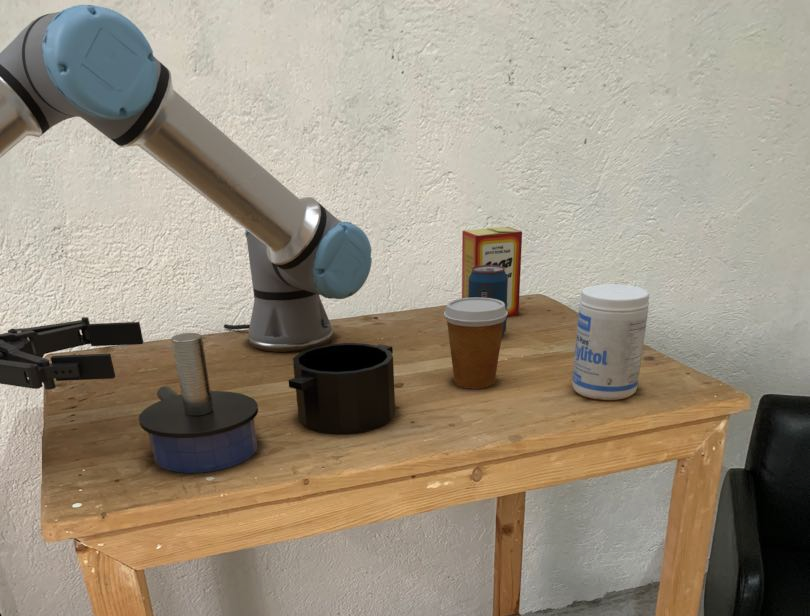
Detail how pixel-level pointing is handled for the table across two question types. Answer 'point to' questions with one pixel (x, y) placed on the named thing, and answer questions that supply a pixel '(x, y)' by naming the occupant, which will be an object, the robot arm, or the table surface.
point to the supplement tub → (609, 341)
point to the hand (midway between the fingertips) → (127, 348)
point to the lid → (196, 399)
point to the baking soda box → (494, 258)
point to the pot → (344, 387)
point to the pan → (205, 450)
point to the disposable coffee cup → (475, 339)
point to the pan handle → (165, 393)
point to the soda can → (489, 284)
